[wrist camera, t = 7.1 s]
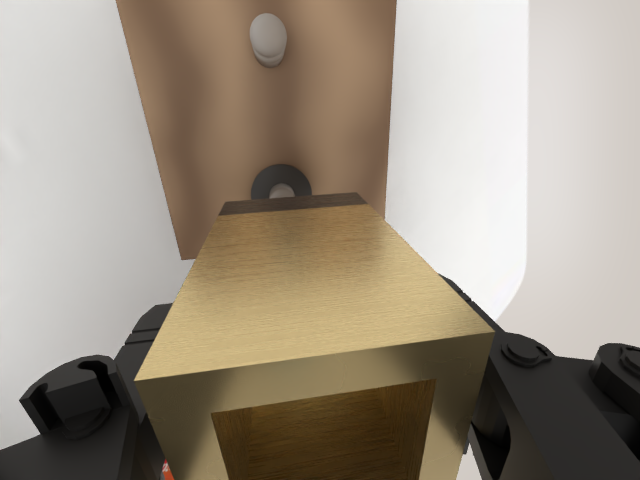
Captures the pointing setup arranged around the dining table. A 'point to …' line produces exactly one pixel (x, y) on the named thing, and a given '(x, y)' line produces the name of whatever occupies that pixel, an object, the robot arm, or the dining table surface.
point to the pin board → (262, 100)
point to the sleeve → (313, 351)
